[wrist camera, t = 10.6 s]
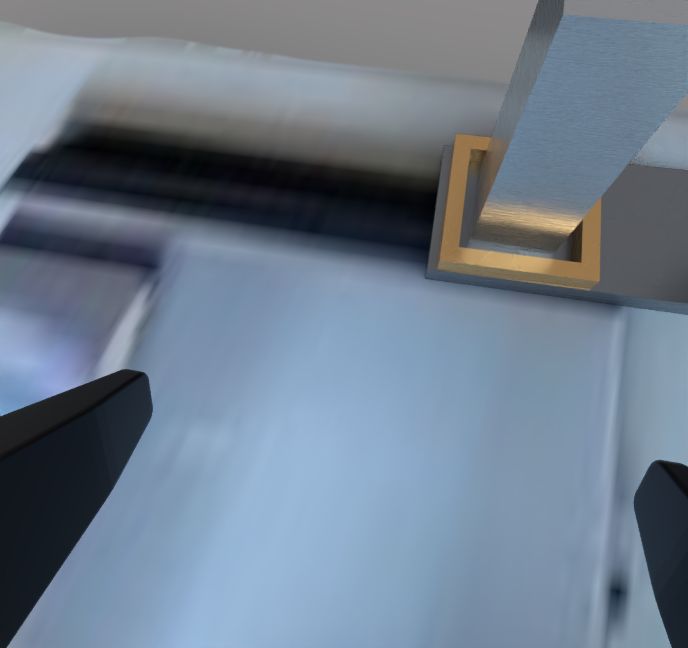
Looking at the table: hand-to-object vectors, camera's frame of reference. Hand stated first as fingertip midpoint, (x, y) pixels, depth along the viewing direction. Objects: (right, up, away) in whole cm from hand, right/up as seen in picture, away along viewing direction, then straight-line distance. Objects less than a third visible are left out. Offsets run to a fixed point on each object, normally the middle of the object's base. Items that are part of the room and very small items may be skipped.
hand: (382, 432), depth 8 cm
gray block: (+8, +7, +15) cm, 18 cm away
